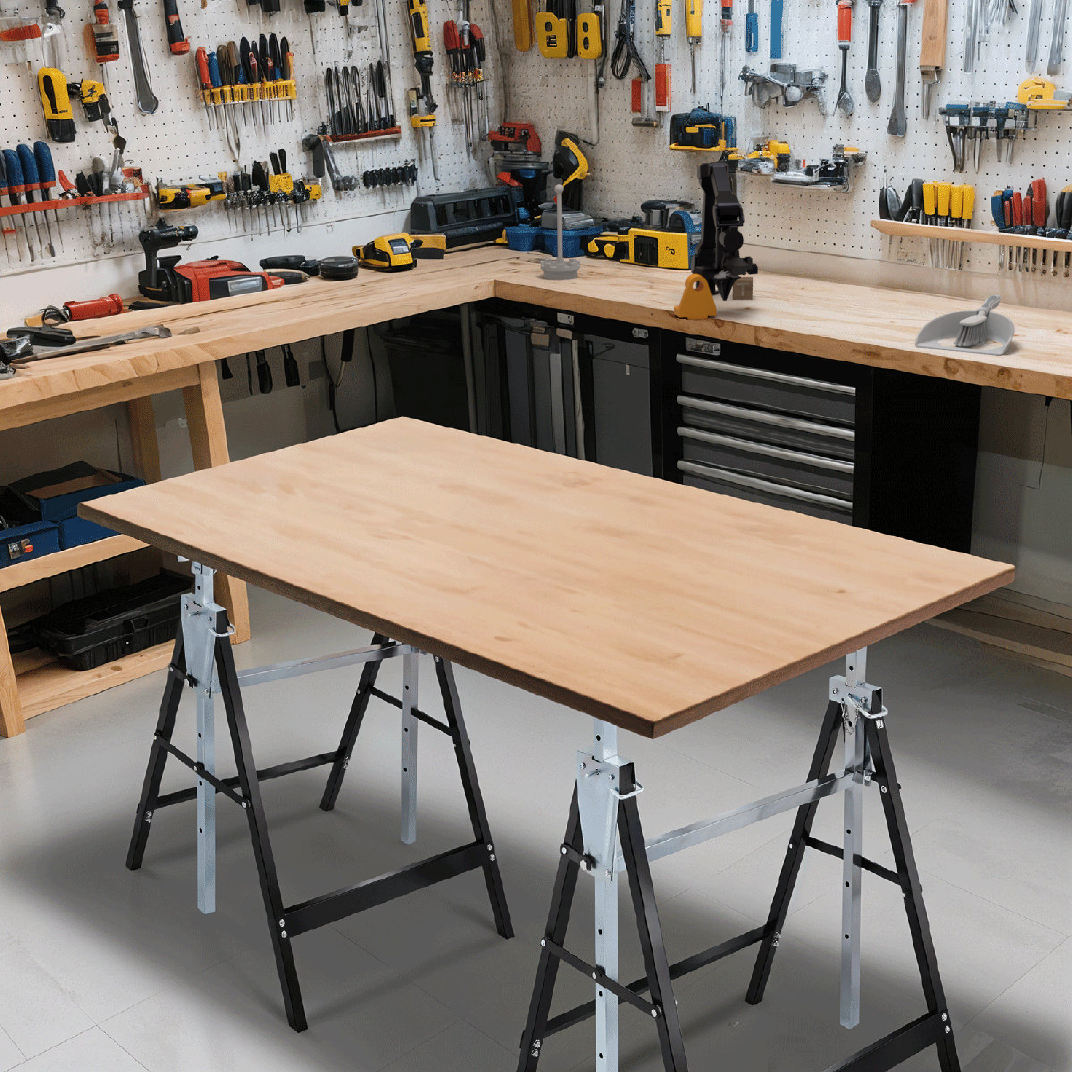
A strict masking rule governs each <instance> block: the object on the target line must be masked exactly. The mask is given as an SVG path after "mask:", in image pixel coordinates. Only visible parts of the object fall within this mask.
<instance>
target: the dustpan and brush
mask: <svg viewBox="0 0 1072 1072" xmlns="http://www.w3.org/2000/svg"><path fill="white" fill-rule="evenodd" d="M1001 299H1002V296H1001V295H1000V294H992V295H990V296H989V297H987V298H986V299H985V300H984V302H983V304H982V305H981V306H980V307H979V308H978V309H963V310H955V311H950V312H948V313H944V314H942V315H940V316H937V317H935V318H933V319H931V320H930V321H928V322H926V323H925V325H923V327H921V328H920V329H919V330H918V332H917V334H916V337H915V341H914V342H915V343H914V345H915V346H916V348H919V349H929V350H940V351H949V352H959V353H967V354H977V355H984V356H995V357H998V356H1000V355H1005V353H1006V352H1007V351H1008V350H1009V348H1010V343H1011V341H1012V339H1013V337H1014V334H1015V324H1014V322H1013V320H1012V319H1011V318H1010V317H1008V316H1006V315H1005V314H1002V313H999V312H997V311H993V310H995V309H997V307H998V306H999V305H1000V303H1001ZM950 338H951V339H952V338H956V339H955V340H954V342H953V344H954V346H948V345H941V344H940V343H938V342H939V341H941V340H945V339H950ZM987 339H988V340H992V341H995V342H998V343H1000V344H1001V345H1003V346H1001V347H996V348H990V349H974V348H971V347H976V346H981V345H986V344H987V341H988V340H987Z"/></svg>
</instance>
